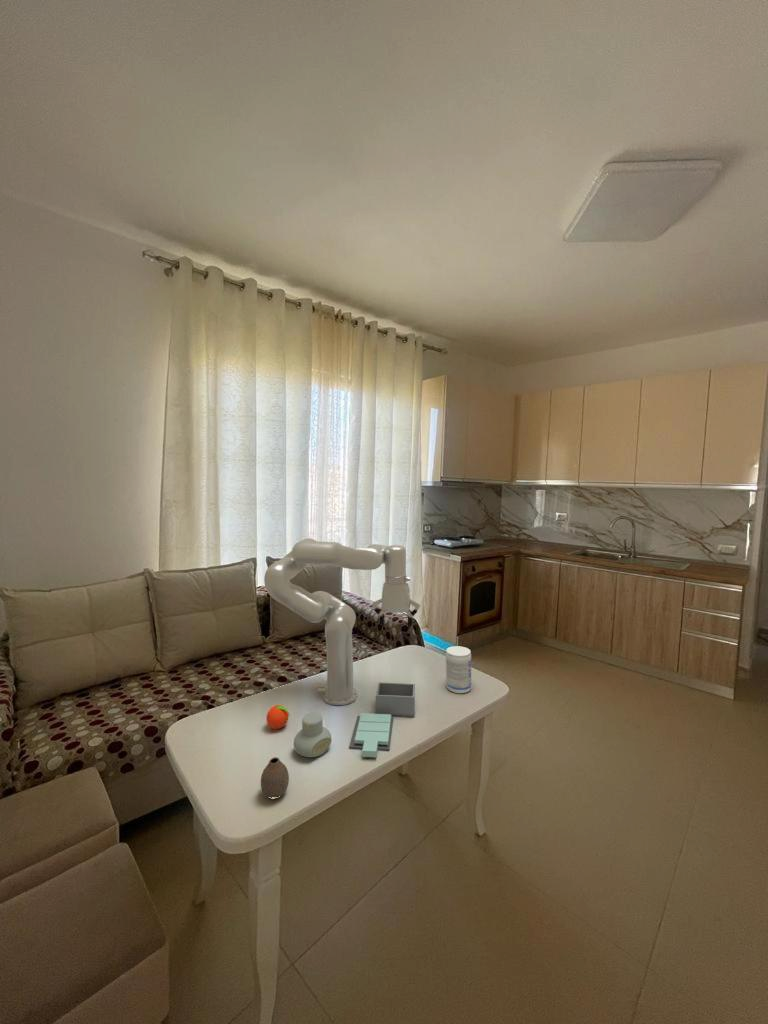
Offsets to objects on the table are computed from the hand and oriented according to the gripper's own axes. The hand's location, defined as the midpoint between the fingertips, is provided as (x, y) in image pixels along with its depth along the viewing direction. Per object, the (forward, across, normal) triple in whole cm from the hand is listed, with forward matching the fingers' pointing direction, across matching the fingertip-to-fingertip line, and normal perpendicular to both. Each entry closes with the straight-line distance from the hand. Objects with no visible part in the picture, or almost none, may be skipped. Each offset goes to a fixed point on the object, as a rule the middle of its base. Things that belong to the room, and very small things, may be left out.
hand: (396, 626), depth 143 cm
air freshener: (+27, +21, +32) cm, 47 cm away
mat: (+27, +5, +21) cm, 35 cm away
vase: (+27, +24, +49) cm, 61 cm away
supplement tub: (+27, -22, -11) cm, 37 cm away
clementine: (+27, +35, +23) cm, 50 cm away
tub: (+27, -1, +7) cm, 28 cm away
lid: (+26, +4, +24) cm, 36 cm away
